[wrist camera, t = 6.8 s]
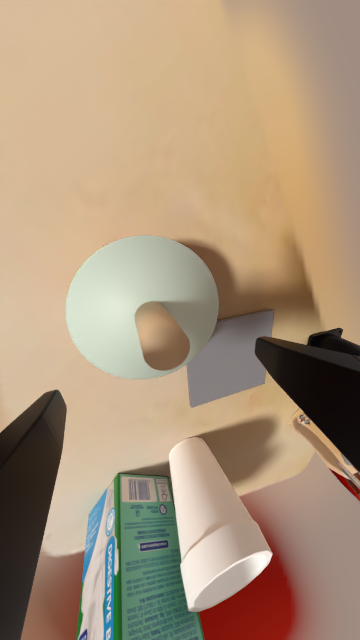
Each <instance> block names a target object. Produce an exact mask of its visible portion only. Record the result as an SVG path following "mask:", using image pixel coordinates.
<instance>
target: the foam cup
mask: <svg viewBox="0 0 360 640" xmlns="http://www.w3.org/2000/svg"><path fill="white" fill-rule="evenodd" d="M169 462H170V471H171V479H172V487H173V495H174V503H175V511H176V520H177V528H178V536H179V544H180V552H181V560H182V563H181V564H180V568H181V574H182V579H183V584H184V589H185V595H186V600H187V605H188V610H189V611H190V612H199V611H202V610H204V609H207V608H210V607H212V606H214V605H216V604H218V603H220V602H222V601H223V600H225V599H227V598H229V597H230V596H232V595H233V594H235V593H236V592H238V591H239V590H240V589H242V588H243V587H245V586H246V585H247V584H248V583H249V582H251V581H252V580H253V579H254V578H255V577H256V576H258V575H259V574H260V573H261V572H262V571H263V569H264V568H265V567H266V566H267V565H268V563H269V562H270V559H271V556H272V552H271V550H270V548H269V546H268V544H267V542H266V540H265V538H264V536H263V534H262V532H261V531H260V528H259V527H258V524H257V523H256V522H255V521H254V520H253V519H252V518H251V516H250V514H249V513H248V511H247V509H246V508H245V506H244V505H243V503H242V501H241V500H240V498H239V496H238V495H237V493H236V491H235V490H234V488H233V486H232V485H231V483H230V482H229V480H228V478H227V477H226V475H225V473H224V472H223V470H222V468H221V467H220V465H219V464H218V462H217V460H216V459H215V457H214V455H213V454H212V452H211V450H210V449H209V447H208V446H207V444H206V442H205V441H204V440H203V439H202V438H199V437H192V438H187V439H185V440H183V441H181V442H179V443H178V444H177V445H176V446H175V447H174V448H172V450H171V452H170V454H169Z"/></svg>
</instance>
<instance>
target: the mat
mask: <svg viewBox="0 0 360 640" xmlns="http://www.w3.org/2000/svg"><path fill="white" fill-rule="evenodd" d="M273 317H274V310H272V309H269V310H265V311H260V312H255V313H251V314H246V315H241V316H237V317H232V318H227V319H223V320H218V321H217V322H216V326H215V329H214V331H213V333H212V336H211V337H210V339H209V341H208V343H207V344H206V345H205V347H204V348H203V350H202V351H201V352H200V353H199V354H198V355H197V356H196V357H195V358H194V359H193V360H192V361H191V362H189V363H188V364H187V373H188V386H189V399H190V406H191V408H192V407H195V406H198V405H201V404H204V403H207V402H210V401H213V400H216V399H219V398H222V397H225V396H228V395H231V394H234V393H237V392H240V391H243V390H246V389H250V388H253V387H256V386H259V385H262V384H265V376H266V369H265V367H264V366H263V365H262V363H261V362H260V361H259V359H258V358H257V357H256V355H255V342H256V339H257V338H258V337H262V336H267V337H271V332H272V324H273Z"/></svg>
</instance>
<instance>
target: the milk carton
mask: <svg viewBox="0 0 360 640" xmlns="http://www.w3.org/2000/svg"><path fill="white" fill-rule="evenodd" d="M181 563H182V560H181V552H180V544H179V536H178V528H177V520H176V511H175V505H174V500H173V496H172V491H171V487H170V482H169V478H168V477H162V476H147V475H131V474H117V476H116V477H115V479H114V480H113V481H112V483H111V484H110V486H109V487H108V489H107V490H106V491H105V493H104V494H103V496H102V497H101V499H100V500H99V501H98V503H97V504H96V506H95V507H94V508H93V510H92V511H91V513H90V514H89V519H88V528H87V538H86V548H85V558H84V568H83V578H82V589H81V598H80V607H79V617H78V627H77V637H76V640H204V635H203V631H202V626H201V622H200V617H199V613H198V612H190V611H189V610H188V605H187V600H186V595H185V589H184V584H183V579H182V574H181V568H180V564H181Z"/></svg>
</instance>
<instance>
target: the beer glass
mask: <svg viewBox="0 0 360 640" xmlns="http://www.w3.org/2000/svg"><path fill="white" fill-rule="evenodd" d="M290 427H291V428H292V429H293V430H294V431H296V432H297V433H298V434H299V435H301V436H302V437H303V438H304V439H305V440H306V441H307V442H308V443H309V444H310V445H311V446H312V447H313V448H314V450H315V451H316V452H317V453H318V455H319V456H320V458H321V459H322V460H323V462H324V463H325V464H326V466H327V467H328V468H329V469H330V471H331V472H332V473H333V475H334V476H335V477H336V478H337V480H338V481H339V482H340V483H341V484H342V485H343V487H344V488H345V489H346V490H347V491H348V492H349V493H350V494H351V495H352V496H353V497H354V498H355V499H356V500H357V501H358V503H359V504H360V473H359V472H358V471H357V470H356V468H355V467H354V466H353V465H352V464H351V463H350V462H349V461H348V460H347V459H346V458H345V457H344V455H343V454H342V453H341V452H340V451H339V450H338V449H337V448H336V447H335V446H334V445H333V443H332V442H331V441H330V440H329V439H328V438H327V437H326V436H325V435H324V434H323V433H322V432H321V430H320V429H319V428H318V427H317V426H316V425H315V424H314V423H313V422H312V421H311V420H310V418H309V417H308V416H307V415H306V414H305V413H304V412H303V411H302V410H301V409H299V410H297V411H296V412H295V413H294V415H293V416H292V418H291V420H290Z"/></svg>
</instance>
